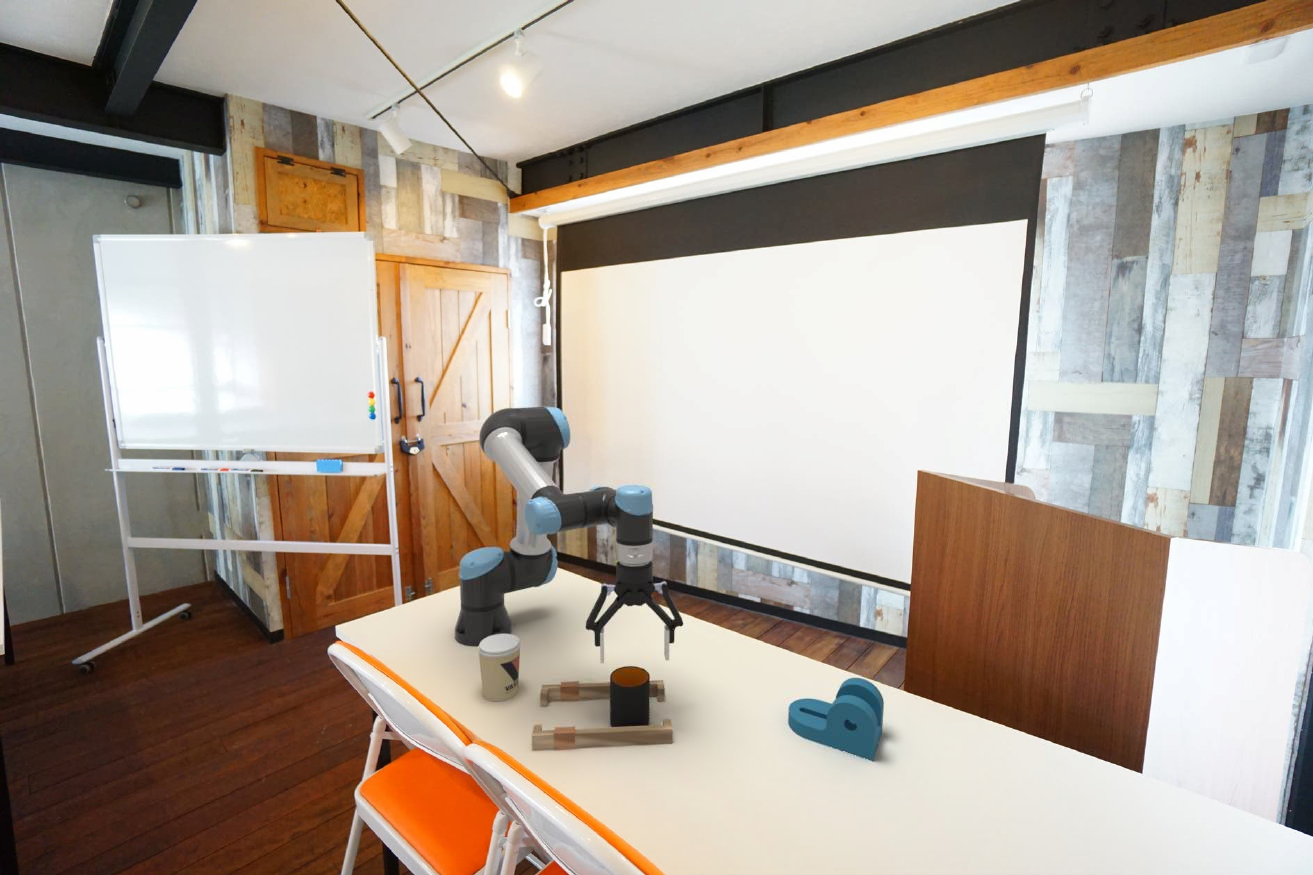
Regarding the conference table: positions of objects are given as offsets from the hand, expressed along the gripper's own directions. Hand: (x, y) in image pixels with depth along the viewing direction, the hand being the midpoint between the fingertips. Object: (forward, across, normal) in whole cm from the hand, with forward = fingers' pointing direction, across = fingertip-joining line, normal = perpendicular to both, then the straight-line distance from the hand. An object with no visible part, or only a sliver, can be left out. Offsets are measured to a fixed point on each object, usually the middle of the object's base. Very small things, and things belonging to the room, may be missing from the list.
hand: (634, 658), depth 120 cm
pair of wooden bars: (+13, -7, 0) cm, 15 cm away
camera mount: (+14, +40, -7) cm, 43 cm away
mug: (+14, 0, 0) cm, 14 cm away
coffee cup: (+13, -30, +12) cm, 35 cm away
